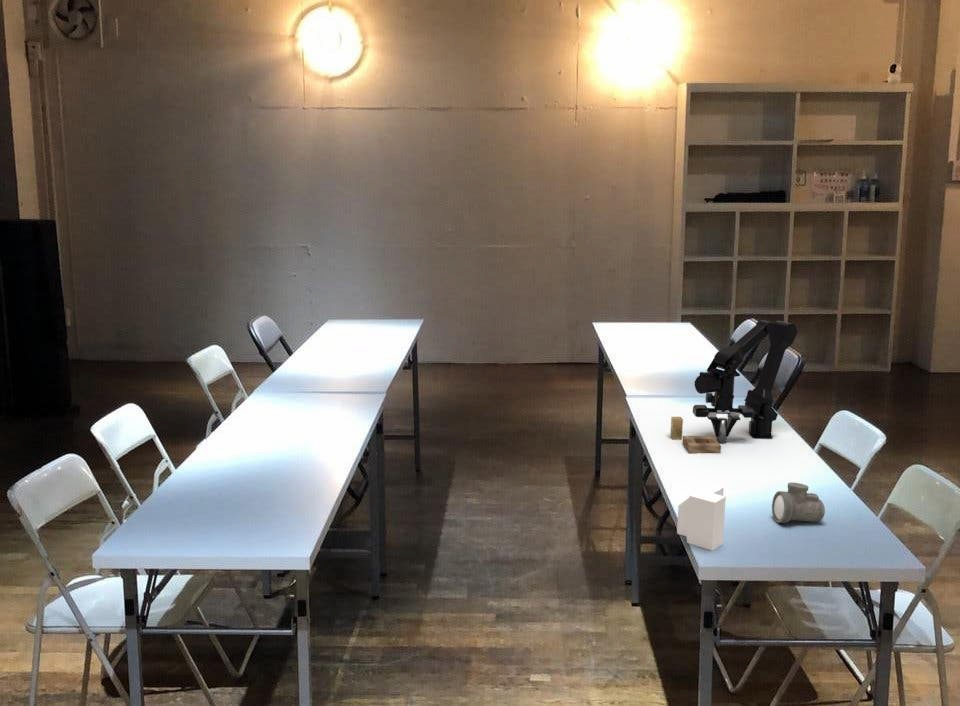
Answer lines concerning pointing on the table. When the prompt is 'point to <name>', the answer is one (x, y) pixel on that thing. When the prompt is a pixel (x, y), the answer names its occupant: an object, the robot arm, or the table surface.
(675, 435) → the square bit
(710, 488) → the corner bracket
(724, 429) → the cylinder
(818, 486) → the table surface
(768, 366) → the robot arm
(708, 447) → the bore block
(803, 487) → the pipe fitting
